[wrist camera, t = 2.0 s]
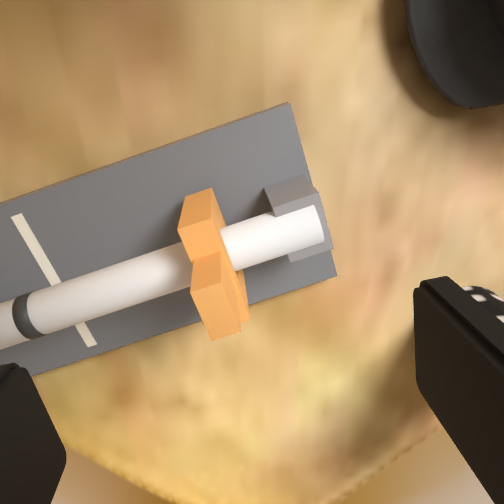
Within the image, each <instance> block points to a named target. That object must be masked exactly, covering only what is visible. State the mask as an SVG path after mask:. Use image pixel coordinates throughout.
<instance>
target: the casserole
mask: <svg viewBox="0 0 504 504" xmlns="http://www.w3.org/2000/svg"><path fill="white" fill-rule="evenodd" d="M405 14H406V22H407V26H408V31H409V35H410V40H411V44H412V48H413V50H414V52H415V55H416V57H417V59H418V61H419V63H420V66H421V68H422V70H423V72H424V74H425V75H426V76H427V78H428V79H429V80H430V82H431V83H432V85H433V86H434V87H435V89H436V90H437V91H438V92H439V93H440V94H441V95H442V96H444V97H445V98H446V99H447V100H448V101H450V102H451V103H452V104H454V105H458V106H461V107H465V108H468V109H476V108H483V107H489V106H495V105H500V104H504V0H405Z"/></svg>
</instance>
